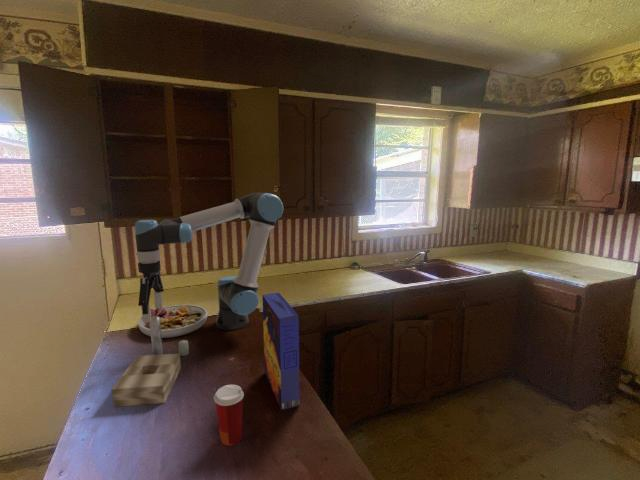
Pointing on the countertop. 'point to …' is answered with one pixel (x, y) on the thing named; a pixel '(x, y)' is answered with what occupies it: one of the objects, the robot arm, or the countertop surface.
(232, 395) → the paper cup
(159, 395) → the hole block
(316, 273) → the countertop surface
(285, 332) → the cereal box
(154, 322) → the long steel pin
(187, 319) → the bowl
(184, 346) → the grey-green rounded piece
